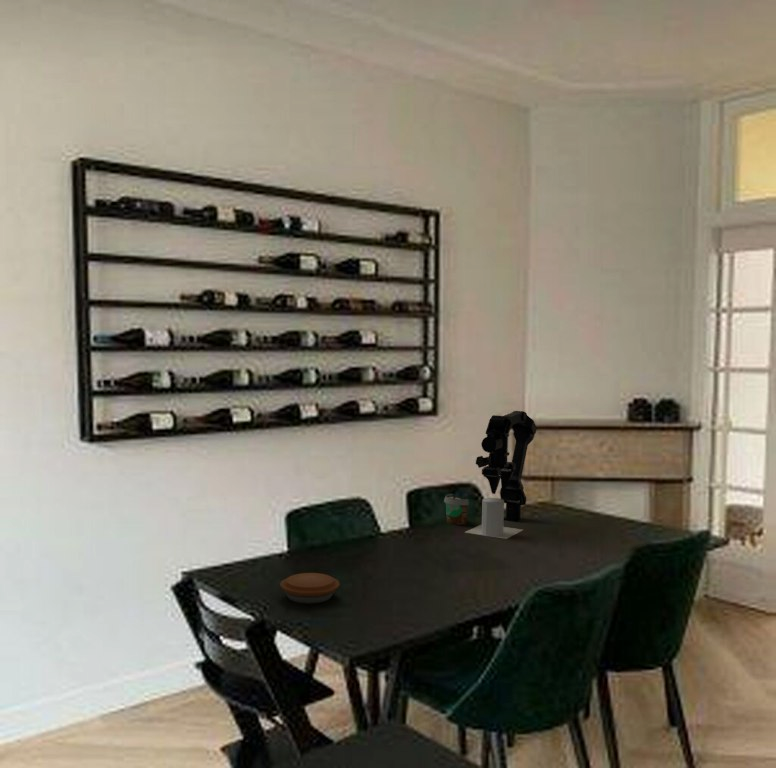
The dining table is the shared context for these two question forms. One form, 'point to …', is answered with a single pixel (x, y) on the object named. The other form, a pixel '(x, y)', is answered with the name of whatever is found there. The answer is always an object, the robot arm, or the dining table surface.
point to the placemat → (506, 534)
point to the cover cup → (492, 516)
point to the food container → (456, 510)
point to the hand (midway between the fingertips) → (498, 491)
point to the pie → (309, 587)
